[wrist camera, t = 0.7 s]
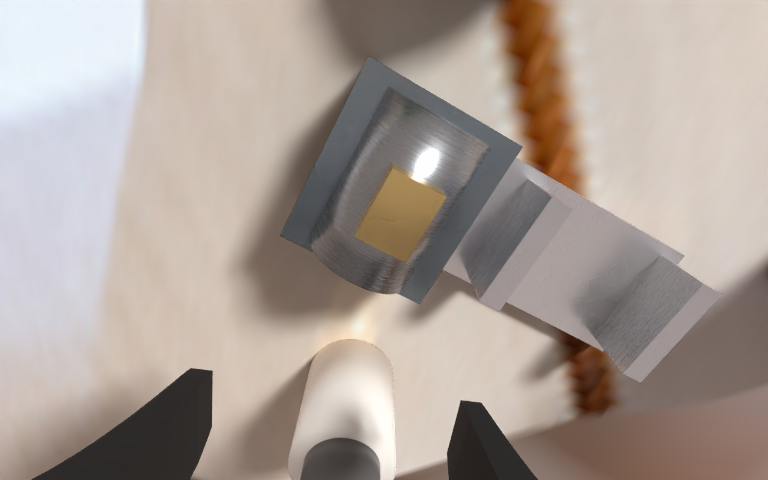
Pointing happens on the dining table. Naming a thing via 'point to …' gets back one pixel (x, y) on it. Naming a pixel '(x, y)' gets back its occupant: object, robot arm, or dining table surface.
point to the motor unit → (484, 226)
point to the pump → (346, 416)
